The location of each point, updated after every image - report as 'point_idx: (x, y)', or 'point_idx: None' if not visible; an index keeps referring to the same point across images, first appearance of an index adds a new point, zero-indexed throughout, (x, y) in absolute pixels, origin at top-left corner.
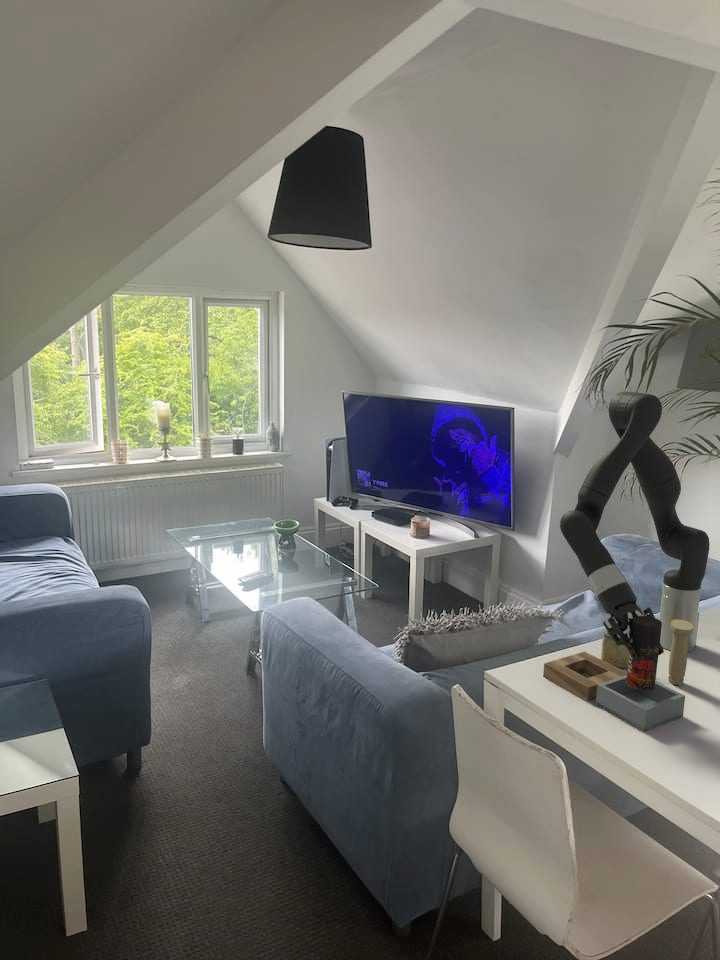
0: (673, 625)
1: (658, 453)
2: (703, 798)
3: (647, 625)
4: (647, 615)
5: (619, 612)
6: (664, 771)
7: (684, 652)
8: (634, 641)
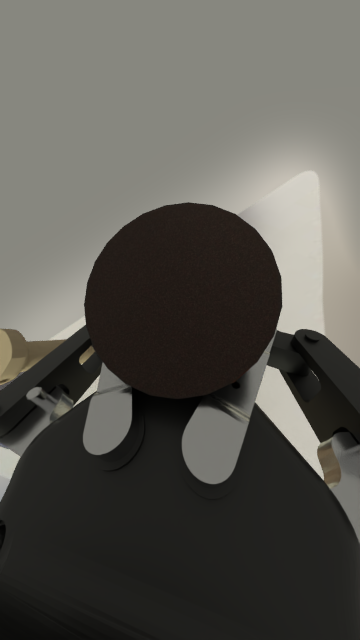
0: (1, 369)
1: None
2: (302, 179)
3: (243, 237)
4: (47, 393)
5: (305, 574)
6: (297, 228)
7: (59, 340)
8: None
